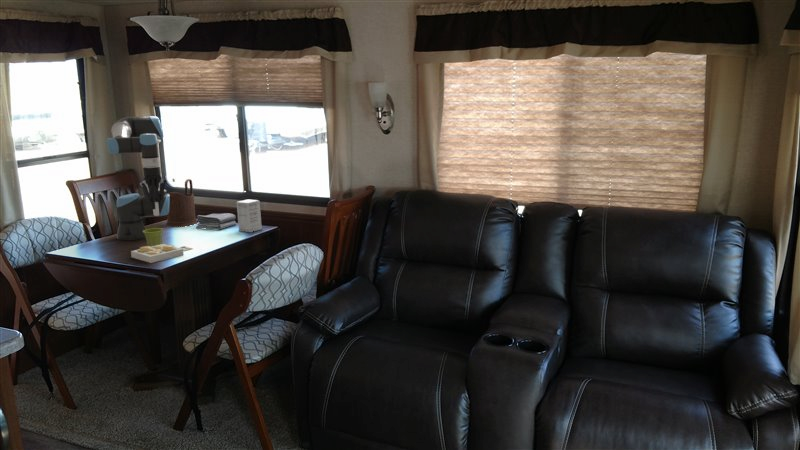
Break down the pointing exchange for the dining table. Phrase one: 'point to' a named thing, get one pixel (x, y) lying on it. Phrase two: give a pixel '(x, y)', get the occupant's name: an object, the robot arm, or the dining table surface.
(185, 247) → the card
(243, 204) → the supplement box
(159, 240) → the plant pot
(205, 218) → the towel
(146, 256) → the white square food tray
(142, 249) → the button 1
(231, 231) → the dining table surface
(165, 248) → the button
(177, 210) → the brown basket
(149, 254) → the button
